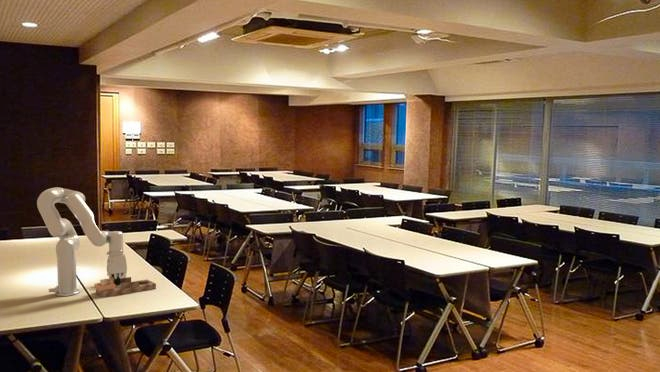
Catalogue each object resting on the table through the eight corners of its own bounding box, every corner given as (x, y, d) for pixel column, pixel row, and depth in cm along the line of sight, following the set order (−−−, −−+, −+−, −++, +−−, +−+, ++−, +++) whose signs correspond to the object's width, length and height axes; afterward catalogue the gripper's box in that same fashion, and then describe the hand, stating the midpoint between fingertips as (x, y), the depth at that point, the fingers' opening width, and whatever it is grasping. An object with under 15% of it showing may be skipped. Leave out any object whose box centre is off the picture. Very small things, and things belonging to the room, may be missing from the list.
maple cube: (103, 290, 315) (103, 281, 314) (100, 288, 319) (100, 279, 318) (112, 288, 318) (112, 280, 318) (109, 287, 322) (109, 278, 321)
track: (103, 297, 311) (103, 286, 311) (95, 292, 321) (95, 282, 321) (156, 288, 330) (155, 278, 330) (147, 284, 340) (146, 274, 340)
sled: (99, 291, 312) (99, 286, 311) (94, 287, 318) (94, 283, 318) (115, 288, 317) (115, 284, 317) (109, 285, 324) (109, 281, 324)
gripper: (105, 255, 313) (106, 288, 314) (131, 252, 322) (132, 284, 324) (100, 253, 319) (101, 285, 320) (127, 250, 328) (128, 281, 330)
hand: (117, 284), depth 322 cm, fingers closed
